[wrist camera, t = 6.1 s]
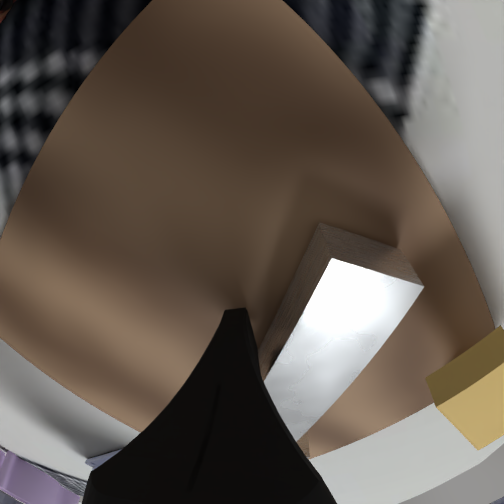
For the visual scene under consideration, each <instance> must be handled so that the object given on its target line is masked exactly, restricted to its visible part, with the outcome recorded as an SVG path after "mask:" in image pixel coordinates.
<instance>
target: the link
mask: <svg viewBox="0 0 504 504" xmlns="http://www.w3.org/2000/svg"><path fill="white" fill-rule="evenodd" d="M423 288H424V285H423V284H422V282H421V280H420V279H419V277H418V276H417V274H416V272H415V271H414V269H413V268H412V266H411V265H410V263H409V261H408V260H407V258H406V257H405V255H404V254H403V252H402V251H401V250H400V249H397V248H395V247H392V246H389V245H386V244H383V243H380V242H378V241H375V240H372V239H369V238H366V237H363V236H360V235H357V234H354V233H351V232H348V231H345V230H342V229H339V228H336V227H333V226H330V225H327V224H324V223H321V222H319V223H318V225H317V228H316V230H315V232H314V234H313V236H312V239H311V241H310V243H309V245H308V247H307V250H306V252H305V254H304V256H303V258H302V261H301V263H300V265H299V267H298V269H297V271H296V273H295V276H294V278H293V280H292V282H291V284H290V286H289V288H288V290H287V293H286V295H285V297H284V299H283V301H282V303H281V305H280V307H279V309H278V311H277V313H276V315H275V317H274V319H273V322H272V324H271V326H270V328H269V330H268V332H267V334H266V336H265V338H264V340H263V342H262V344H261V346H260V348H259V350H258V358H259V366H260V372H261V376H262V379H263V381H264V384H265V386H266V388H267V390H268V392H269V394H270V397H271V399H272V401H273V403H274V405H275V406H276V408H277V410H278V412H279V414H280V416H281V418H282V419H283V421H284V423H285V424H286V426H287V428H288V429H289V431H290V433H291V434H292V436H293V438H294V439H295V441H296V442H297V444H298V445H299V447H300V448H301V450H302V451H303V453H304V454H305V456H306V457H307V458H309V457H310V451H309V439H308V430H309V429H310V428H311V427H312V426H313V425H314V424H315V423H316V422H317V421H318V419H319V418H320V417H321V416H322V415H323V414H324V413H325V412H326V411H327V410H328V409H329V408H330V407H331V406H332V405H333V403H334V402H335V401H336V400H337V399H338V398H339V397H340V396H341V395H342V394H343V392H344V391H345V390H346V389H347V388H348V387H349V386H350V384H351V383H352V382H353V381H354V380H355V379H356V377H357V376H358V375H359V374H360V373H361V371H362V370H363V369H364V368H365V367H366V365H367V364H368V363H369V362H370V360H371V359H372V358H373V357H374V355H375V354H376V353H377V352H378V350H379V349H380V348H381V347H382V345H383V344H384V343H385V341H386V340H387V339H388V337H389V336H390V335H391V333H392V332H393V331H394V329H395V328H396V327H397V325H398V324H399V323H400V321H401V320H402V318H403V317H404V316H405V314H406V313H407V311H408V310H409V309H410V307H411V306H412V304H413V303H414V301H415V300H416V298H417V297H418V295H419V294H420V292H421V291H422V289H423Z"/></svg>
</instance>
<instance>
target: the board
mask: <svg viewBox="0 0 504 504" xmlns="http://www.w3.org/2000/svg"><path fill="white" fill-rule="evenodd" d="M319 222H321V223H324V224H327V225H330V226H333V227H336V228H339V229H342V230H345V231H348V232H351V233H354V234H357V235H360V236H363V237H366V238H369V239H372V240H375V241H378V242H380V243H383V244H386V245H389V246H392V247H395V248H397V249H400V250H401V251H402V252H403V254H404V255H405V257H406V258H407V260H408V261H409V263H410V265H411V266H412V268H413V269H414V271H415V272H416V274H417V276H418V277H419V279H420V280H421V282H422V284H423V285H424V288H423V289H422V291H421V292H420V294H419V295H418V297H417V298H416V300H415V301H414V303H413V304H412V306H411V307H410V309H409V310H408V311H407V313H406V314H405V316H404V317H403V318H402V320H401V321H400V323H399V324H398V325H397V327H396V328H395V329H394V331H393V332H392V333H391V335H390V336H389V337H388V339H387V340H386V341H385V343H384V344H383V345H382V347H381V348H380V349H379V350H378V352H377V353H376V354H375V355H374V357H373V358H372V359H371V360H370V362H369V363H368V364H367V365H366V367H365V368H364V369H363V370H362V371H361V373H360V374H359V375H358V376H357V377H356V379H355V380H354V381H353V382H352V383H351V384H350V386H349V387H348V388H347V389H346V390H345V391H344V392H343V394H342V395H341V396H340V397H339V398H338V399H337V400H336V401H335V402H334V403H333V405H332V406H331V407H330V408H329V409H328V410H327V411H326V412H325V413H324V414H323V415H322V416H321V417H320V418H319V419H318V421H317V422H316V423H315V424H314V425H313V426H312V427H311V428H310V429H309V430H308V439H309V451H310V457H309V458H308V459H311V458H314V457H317V456H320V455H322V454H325V453H328V452H330V451H333V450H336V449H338V448H341V447H343V446H346V445H348V444H351V443H353V442H355V441H358V440H360V439H362V438H365V437H367V436H369V435H371V434H374V433H376V432H378V431H380V430H382V429H384V428H386V427H388V426H391V425H393V424H395V423H397V422H399V421H401V420H403V419H405V418H406V417H408V416H410V415H412V414H414V413H416V412H418V411H420V410H421V409H423V408H425V407H427V406H429V405H430V404H432V403H434V400H433V398H432V395H431V392H430V390H429V387H428V384H427V382H426V379H425V377H427V376H429V375H430V374H432V373H434V372H435V371H437V370H438V369H440V368H441V367H443V366H445V365H446V364H448V363H449V362H451V361H452V360H454V359H455V358H457V357H458V356H460V355H461V354H462V353H464V352H465V351H467V350H468V349H470V348H471V347H472V346H474V345H475V344H477V343H478V342H479V341H481V340H482V339H483V338H485V337H486V336H487V335H489V334H490V333H491V332H493V331H494V330H495V326H494V323H493V320H492V317H491V314H490V311H489V309H488V306H487V303H486V300H485V298H484V295H483V293H482V290H481V288H480V285H479V283H478V280H477V278H476V275H475V273H474V271H473V268H472V266H471V264H470V261H469V259H468V257H467V255H466V253H465V250H464V248H463V246H462V244H461V242H460V240H459V238H458V236H457V234H456V232H455V230H454V228H453V226H452V224H451V222H450V220H449V218H448V216H447V214H446V212H445V210H444V208H443V206H442V205H441V203H440V201H439V199H438V197H437V196H436V194H435V192H434V190H433V188H432V187H431V185H430V183H429V182H428V180H427V178H426V177H425V175H424V173H423V172H422V170H421V168H420V167H419V165H418V163H417V162H416V160H415V159H414V157H413V156H412V154H411V152H410V151H409V149H408V148H407V146H406V145H405V143H404V142H403V140H402V139H401V137H400V136H399V134H398V133H397V131H396V130H395V129H394V127H393V126H392V124H391V123H390V122H389V120H388V119H387V117H386V116H385V115H384V113H383V112H382V111H381V109H380V108H379V107H378V105H377V104H376V103H375V101H374V100H373V99H372V97H371V96H370V95H369V93H368V92H367V91H366V90H365V88H364V87H363V86H362V85H361V83H360V82H359V81H358V80H357V79H356V77H355V76H354V75H353V74H352V72H351V71H350V70H349V69H348V68H347V67H346V65H345V64H344V63H343V62H342V61H341V60H340V59H339V57H338V56H337V55H336V54H335V53H334V52H333V51H332V50H331V49H330V47H329V46H328V45H327V44H326V43H325V42H324V41H323V40H322V39H321V38H320V37H319V36H318V35H317V34H316V33H315V32H314V31H313V29H312V28H311V27H310V26H309V25H308V24H307V23H306V22H305V21H304V20H303V19H302V18H300V17H299V16H298V15H297V14H296V13H295V12H294V11H293V10H292V9H291V8H290V7H289V6H288V5H287V4H286V3H285V2H284V1H282V0H152V1H151V2H150V3H149V4H148V5H147V6H146V7H145V8H144V9H143V11H142V12H141V13H140V14H139V15H138V16H137V17H136V18H135V19H134V20H133V21H132V22H131V23H130V25H129V26H128V27H127V28H126V29H125V30H124V31H123V32H122V34H121V35H120V36H119V37H118V38H117V39H116V41H115V42H114V43H113V44H112V45H111V47H110V48H109V49H108V50H107V52H106V53H105V54H104V55H103V57H102V58H101V59H100V60H99V62H98V63H97V64H96V66H95V67H94V68H93V70H92V71H91V72H90V74H89V75H88V76H87V78H86V79H85V80H84V82H83V83H82V85H81V86H80V87H79V89H78V90H77V92H76V93H75V95H74V96H73V98H72V99H71V101H70V102H69V104H68V105H67V107H66V108H65V110H64V111H63V113H62V115H61V116H60V118H59V119H58V121H57V123H56V124H55V126H54V128H53V129H52V131H51V133H50V135H49V136H48V138H47V140H46V142H45V143H44V145H43V147H42V149H41V151H40V152H39V154H38V156H37V158H36V160H35V162H34V164H33V166H32V168H31V170H30V172H29V174H28V176H27V178H26V180H25V182H24V184H23V186H22V188H21V190H20V193H19V195H18V197H17V199H16V202H15V204H14V206H13V209H12V211H11V213H10V216H9V218H8V221H7V223H6V226H5V228H4V231H3V234H2V236H1V239H0V338H1V339H2V340H3V341H5V342H6V343H7V344H8V345H9V346H10V347H12V348H13V349H14V350H15V351H17V352H18V353H19V354H20V355H21V356H23V357H24V358H25V359H27V360H28V361H29V362H30V363H32V364H33V365H34V366H36V367H37V368H38V369H40V370H41V371H42V372H44V373H45V374H46V375H48V376H49V377H51V378H52V379H53V380H55V381H56V382H58V383H59V384H60V385H62V386H63V387H65V388H66V389H68V390H69V391H71V392H72V393H74V394H75V395H77V396H78V397H80V398H82V399H83V400H85V401H86V402H88V403H90V404H91V405H93V406H94V407H96V408H98V409H99V410H101V411H103V412H104V413H106V414H108V415H110V416H111V417H113V418H115V419H117V420H119V421H120V422H122V423H124V424H126V425H128V426H130V427H131V428H133V429H135V430H137V431H139V432H142V431H143V430H144V429H145V428H146V427H147V426H148V425H149V424H150V423H151V422H152V421H153V420H154V419H155V418H156V417H157V416H158V415H159V414H160V413H161V411H162V410H163V409H164V408H165V407H166V406H167V405H168V403H169V402H170V401H171V400H172V399H173V397H174V396H175V395H176V394H177V392H178V391H179V390H180V388H181V387H182V386H183V384H184V383H185V381H186V380H187V378H188V377H189V375H190V374H191V372H192V371H193V369H194V368H195V366H196V365H197V363H198V362H199V360H200V358H201V357H202V355H203V353H204V352H205V350H206V348H207V346H208V345H209V343H210V341H211V339H212V337H213V335H214V334H215V332H216V330H217V328H218V326H219V324H220V322H221V319H222V316H223V313H224V311H225V310H228V309H236V308H244V307H246V309H247V311H248V314H249V318H250V322H251V325H252V329H253V333H254V336H255V340H256V343H257V347H258V350H259V348H260V346H261V344H262V342H263V340H264V338H265V336H266V334H267V332H268V330H269V328H270V326H271V324H272V322H273V319H274V317H275V315H276V313H277V311H278V309H279V307H280V305H281V303H282V301H283V299H284V297H285V295H286V293H287V290H288V288H289V286H290V284H291V282H292V280H293V278H294V276H295V273H296V271H297V269H298V267H299V265H300V263H301V261H302V258H303V256H304V254H305V252H306V250H307V247H308V245H309V243H310V241H311V239H312V236H313V234H314V232H315V230H316V228H317V225H318V223H319Z"/></svg>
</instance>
